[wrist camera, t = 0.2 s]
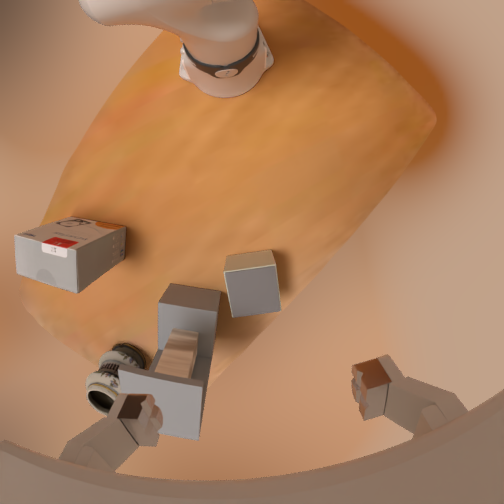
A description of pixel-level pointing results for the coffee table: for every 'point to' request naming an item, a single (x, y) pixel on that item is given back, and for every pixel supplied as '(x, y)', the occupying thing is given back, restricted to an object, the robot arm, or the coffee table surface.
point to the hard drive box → (69, 252)
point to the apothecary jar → (111, 376)
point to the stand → (252, 283)
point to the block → (179, 354)
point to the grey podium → (194, 390)
